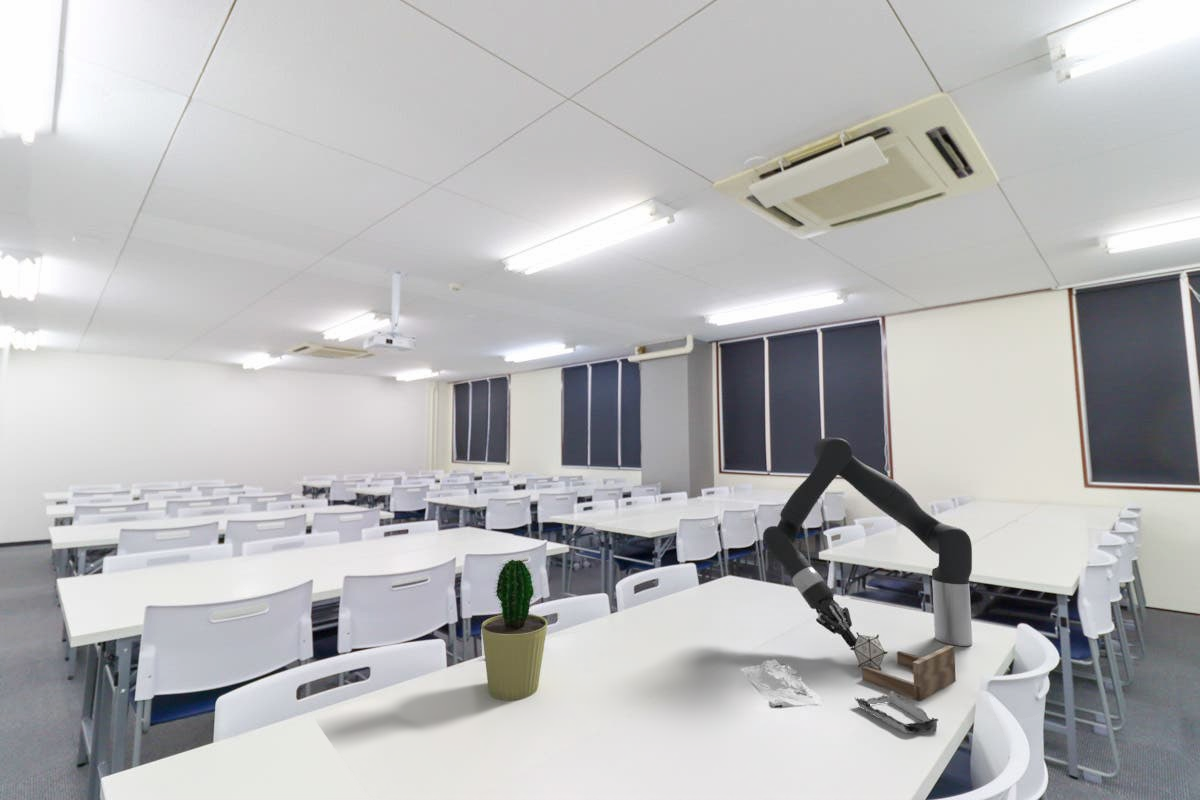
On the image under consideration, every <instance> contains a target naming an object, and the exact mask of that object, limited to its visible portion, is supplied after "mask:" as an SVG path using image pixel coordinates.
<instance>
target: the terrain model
mask: <svg viewBox="0 0 1200 800" xmlns="http://www.w3.org/2000/svg"><path fill="white" fill-rule="evenodd" d="M781 665H783V666H785V667H782V666H781ZM787 665H788V664H780V663H779V662H778V661H777V660H776V659H771V660H765V661H763V662H762V663H761V664H757V665H750V667H749V666H744V667H745V668H743V667H742V668H743V670H744V671H745V672H744V671H743V670H742V671H743V672H742V671H741V672H742V673H744V675H745V674H746V675H745V677H746V678H747V679H749V681H750V683H751V682H752V683H751V684H752V685H753V686H754V687H755V688H756V689H757V690H758V691H759V693H760V694H761V696H763V697H764V699H766V700H767V702H768V703H769V705H770V706H771V707H773V708H774V707H776V706H781V707H782V708H786V707H787V708H788V707H808V706H807V705H815V706H822V705H821V704H822V703H823V702H822V703H821V702H820V700H819V699H818V698H817V696H816V695H815V694H814V691H815V690H813V689H812V690H807V689H808V688H809V687H808V688H806V687H804V686H803V684H802V683H801V682H800V680H799V679H801V678H802V677H801V676H796V675H793V674H792V673H794V674H798V671H797V670H795V669H794V668H792V669H790V668H788V666H787ZM793 669H794V670H793Z"/></svg>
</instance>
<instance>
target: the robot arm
mask: <svg viewBox="0 0 1200 800" xmlns="http://www.w3.org/2000/svg"><path fill="white" fill-rule="evenodd" d="M813 455H814V456H813V457H814V458H815V460H816V461H817V463H816V464H815V467H814V468H813V470H812V471H811V473H810V474H809V475H808V477H807V478H806V479H805V480H804V481H803V482H802V483H801V484H800V485H799V486H797V488H796V489H795V491H793V493H792V494H791V496H790V497H789V499H788V500H787V502H786V503H785V505H784V506H783V508H782V509H781V510H780V512H779V513H780V514H779V516H780V520H779V522H778V524H777V526H776V525H771V526H768V527H766V528H765V529H764V531H763V535H762V540H763V543H764V545H765V547H766V548H767V550H768V551H769V552H770V553H771V554H772V555H773V557H774V558H775V560H777V561H778V562H779V563H780V565H781V566H782V567H783V569H784V570H785V572H786V573H787V575H788V577H789V578H790V579H791V581H792V583H793V584H794V586H795V588H796V590H797V591H798V592H799V593H800V595H801V596H802V597H803V600H804V601H805V602H806V603H807V605H808V606H809V607H810V609H812V610H815V611H816V613H817V614H818V617H816V618H815V621H816V622H817V623H818V624H820V625H821V626H822V627H823V628H825V629H827V630H828V631H829V632H831V633H832V634H834V635H835V634H838V635H839V636H841V637H842V638H843V640H844V642H845V643H846V644H847V645H848V647H849V648H852V647H854V645H855V643H856V640H857V637H856V636H855V635H854V634H853V632H852V631H851V627H852V626H853V622H852V619H851V614H850V610H849V609H848V607H844V608H842V607H841V606H840V605H839V603H838V602H836V601H835V599H834V596H835V593H834V592H833V591H832V589H831V588H830V587H829V585H828V584H827V582H826V581H825V580H824V578H822V576H821V575H820V573H819V572H818V571H817V570H816V569H815V568H814V567H813V565H812V564H811V563H810V562H809V560H808V559H807V557H806V556H805V555H804V554H803V553H802V552H801V551H800V550H799V549H797V547H796V546H795V545H794V543H795V542H796V539H797V537H798V535H799V532H800V529H801V527H802V526H803V524H804V522H805V520H807V518H808V516H809V515H810V513H811V512H812V510H813V508H814V507H815V505H816V504H817V502H818V501H819V499H820V498H821V497H822V495H823V493H824V492H825V491H826V489H828V487H829V486H830V485H831V483H832V482H833V481H834V479H835V478H837V476H839V477H841V478H842V479H843V480H845V481H847V483H849V484H850V485H851V486H852V487H853V488H854V489H855V490H856V491H857V492H859V493H860V494H861V495H862V496H863V497H865V498H866V499H867V500H868V501H869V502H871V504H873V505H874V506H876V507H877V508H878V509H879V510H881V511H882V512H883V513H885V514H886V515H888V517H890V518H892V519H893V520H895V521H896V522H897V523H899V524H900V525H902V526H903V527H905V528H906V529H908V530H909V531H910V532H911V533H912V534H914V535H915V537H917V538H918V539H919V540H920V541H921V542H922V543H923V544H924V545H925V546H926V547H927V548H928V549H930V551H932V552H933V553H935V554H937V555H938V565H937V566H936V567H934V568H932V571H931V578H932V579H931V580H932V581H931V582H932V601H933V603H932V604H933V623H934V638H935V640H937V641H938V642H941V643H943V644H948V645H950V646H961V647H966V646H967V647H968V646H972V645H973V633H972V632H973V630H972V629H973V628H972V613H971V593H970V591H971V590H970V576H971V574H972V571H973V547H972V546H973V545H972V541H971V538H970V536H969V534H968V533H967V532H966V531H965V530H964V529H962V528H959V527H957V526H953V525H952V526H951V525H947V524H945V523H942V522H941V521H939V520H937V519H936V518H934V516H931V515H930V514H929V513H928V512H926V511H924V510H923V508H921V507H920V505H919V504H918V502H917V501H916V500H915V498H914V497H913V496H912V494H911V493H909V491H907V490H906V489H905V488H904V487H903V486H901V485H900V484H899V483H897V482H896V481H895V480H894V479H892V478H890V477H889V476H887V475H886V474H883V473H882V472H880V471H878V470H876V469H874V468H873V467H870V466H868V465H866V464H865V463H863V462H862V461H860V460H859V459H857V457H855V456H854V455H853V449H852V446H851V444H850V442H848V441H847V440H845V439H843V438H840V437H823V438H821V439H819V440H818V441H816V442H815V444H814V446H813Z"/></svg>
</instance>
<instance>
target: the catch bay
mask: <svg viewBox="0 0 1200 800" xmlns="http://www.w3.org/2000/svg"><path fill="white" fill-rule="evenodd" d="M896 658H897V659H896V660H897V661H896V662H897V663H896V664H897V665H900V666H903V667H906V668H908V669H912V670H913V672H912V673H913V674H912V675H913V682H912V681H911V680H907V679H905V678H904V679H903V678H901V677H898V676H895V675H893V674H889V673H886V672H883V671H882V670H877V669H874V668H871V667H870V666H866V665H863V666H862V667H861V672H862V673H861V674H862V675H861V676H862V677H861V678H862V681H864V680H865V681H864V682H867V683H869V682H870V684H872V683H873V685H875V684H876V685H875V686H878V687H880V686H881V687H880V688H883V689H886V688H887V689H886V690H889V691H891V690H892V691H893V692H895V693H897V694H899V695H902V696H905V697H908V698H911V699H914V700H917V701H919V702H921V701H922V700H925V699H926V698H928V697H929V696H932V695H934V694H935V693H937V692H939V691H940V690H942V689H944V688H945V687H947V686H948V685H951V684H952V683H954V682H956V681H957V680H956V660H955V659H956V658H955V645H951V644H948V645H946V646H944V647H941V648H940V649H938V650H937V649H936V651H934V652H931V653H929V654H927V655H925V656H923V657H920V656H918V655H915V654H911V653H907V652H904V651H902V650H901V651H900V650H898V651H897V652H896Z"/></svg>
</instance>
